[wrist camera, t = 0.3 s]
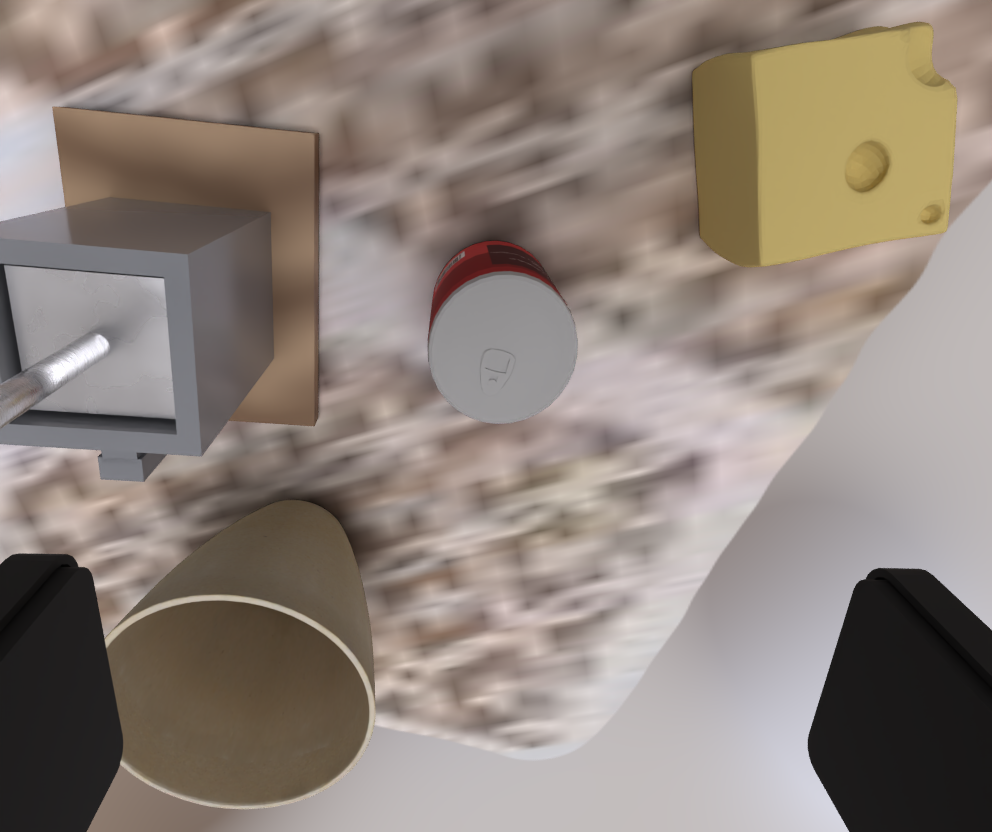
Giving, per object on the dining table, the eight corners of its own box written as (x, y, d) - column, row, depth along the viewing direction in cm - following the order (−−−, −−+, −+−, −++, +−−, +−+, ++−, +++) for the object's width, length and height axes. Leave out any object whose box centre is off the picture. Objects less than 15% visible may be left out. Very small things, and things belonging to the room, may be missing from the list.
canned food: (434, 360, 47) (429, 427, 36) (429, 238, 43) (423, 274, 33) (548, 358, 47) (575, 424, 37) (552, 237, 44) (583, 272, 34)
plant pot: (233, 417, 47) (135, 551, 33) (431, 503, 51) (423, 659, 36) (161, 582, 52) (47, 763, 37) (346, 650, 55) (309, 841, 41)
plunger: (15, 261, 29) (-297, 362, 17) (173, 274, 30) (-19, 380, 18) (37, 402, 32) (-220, 578, 20) (183, 412, 32) (21, 589, 20)
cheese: (858, 30, 40) (978, 3, 31) (852, 219, 45) (956, 245, 35) (680, 63, 41) (747, 46, 31) (691, 249, 45) (753, 282, 36)
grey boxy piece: (109, 196, 40) (-53, 233, 27) (270, 212, 41) (187, 254, 28) (130, 386, 44) (-1, 495, 32) (275, 396, 45) (205, 506, 32)
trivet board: (66, 107, 39) (52, 106, 38) (318, 133, 41) (314, 134, 39) (103, 402, 46) (92, 411, 45) (318, 417, 48) (314, 426, 46)
